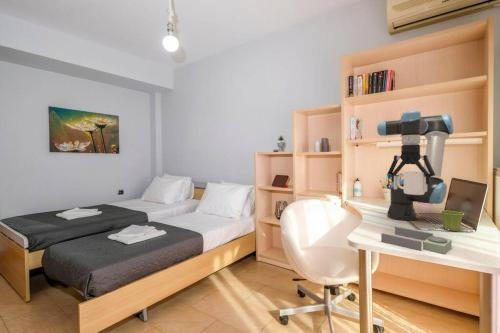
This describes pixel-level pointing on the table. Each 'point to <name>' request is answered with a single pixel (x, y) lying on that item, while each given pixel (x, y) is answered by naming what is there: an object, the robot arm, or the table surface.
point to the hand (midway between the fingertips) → (409, 190)
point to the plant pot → (452, 220)
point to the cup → (412, 183)
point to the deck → (429, 244)
